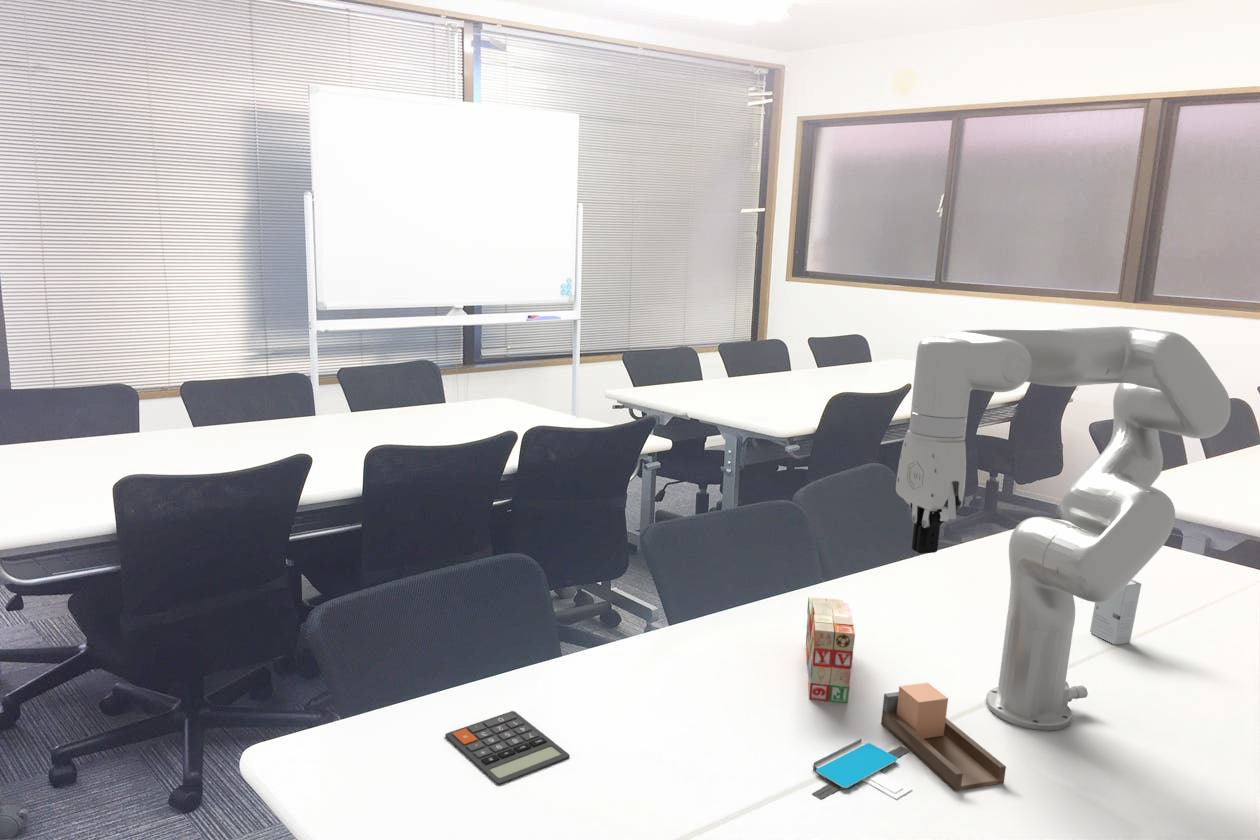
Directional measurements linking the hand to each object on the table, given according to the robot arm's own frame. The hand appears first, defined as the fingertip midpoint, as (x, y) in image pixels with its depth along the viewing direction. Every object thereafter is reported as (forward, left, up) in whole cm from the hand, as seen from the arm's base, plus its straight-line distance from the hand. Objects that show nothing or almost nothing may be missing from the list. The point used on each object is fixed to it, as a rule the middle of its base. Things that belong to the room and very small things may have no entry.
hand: (924, 550), depth 133 cm
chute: (-3, +5, -29) cm, 30 cm away
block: (-3, 0, -29) cm, 29 cm away
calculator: (+58, -11, -30) cm, 66 cm away
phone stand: (+11, +8, -30) cm, 33 cm away
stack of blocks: (+1, -22, -30) cm, 37 cm away
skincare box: (-60, -22, -29) cm, 70 cm away
